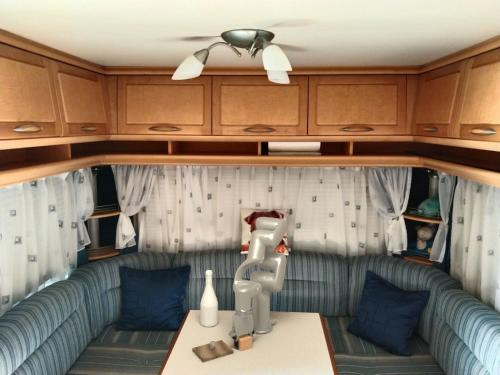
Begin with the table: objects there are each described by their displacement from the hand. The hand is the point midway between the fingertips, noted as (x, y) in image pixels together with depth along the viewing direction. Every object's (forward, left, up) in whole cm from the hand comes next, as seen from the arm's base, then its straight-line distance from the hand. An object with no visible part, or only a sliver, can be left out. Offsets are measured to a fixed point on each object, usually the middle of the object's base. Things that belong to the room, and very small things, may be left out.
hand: (242, 345), depth 219 cm
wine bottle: (+3, -31, -1) cm, 31 cm away
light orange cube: (0, 0, -1) cm, 1 cm away
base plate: (+15, -3, -1) cm, 15 cm away
